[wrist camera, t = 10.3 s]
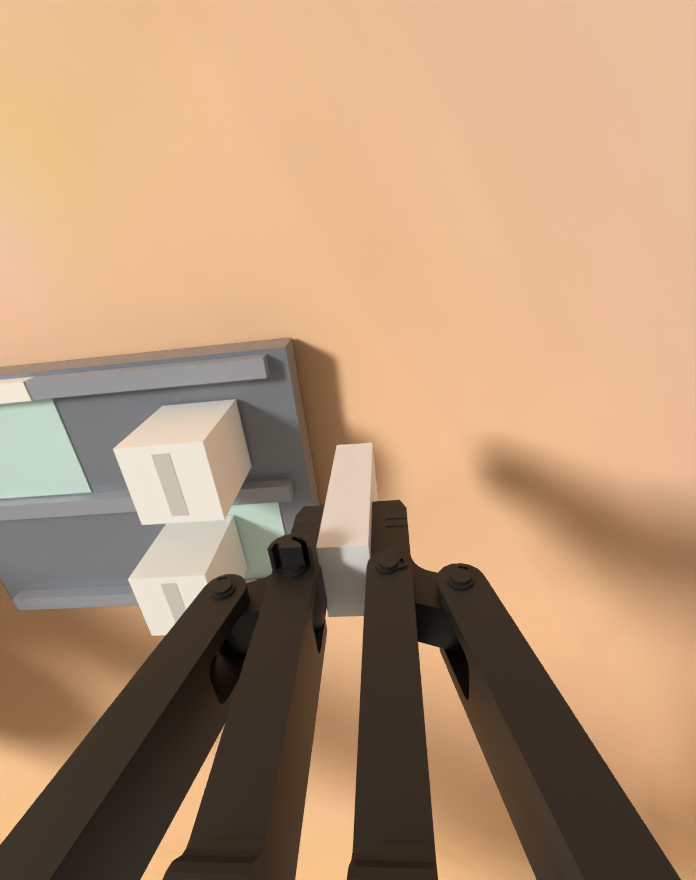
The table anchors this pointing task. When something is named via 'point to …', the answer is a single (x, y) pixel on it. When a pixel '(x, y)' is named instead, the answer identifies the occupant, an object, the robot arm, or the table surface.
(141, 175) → the table surface
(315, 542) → the robot arm
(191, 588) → the tab
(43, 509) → the switch board
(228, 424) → the tab
